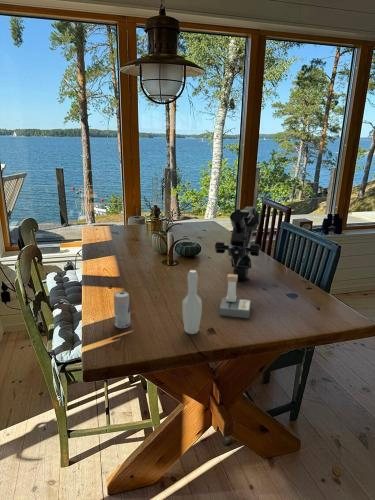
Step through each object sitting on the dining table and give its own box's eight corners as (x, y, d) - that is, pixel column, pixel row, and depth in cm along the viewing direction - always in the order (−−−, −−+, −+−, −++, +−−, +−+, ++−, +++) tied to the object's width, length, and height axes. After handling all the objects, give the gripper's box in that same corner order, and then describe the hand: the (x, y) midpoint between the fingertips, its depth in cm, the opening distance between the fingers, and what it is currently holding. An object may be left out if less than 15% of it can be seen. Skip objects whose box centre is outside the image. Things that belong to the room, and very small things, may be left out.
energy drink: (131, 321, 131) (130, 291, 127) (129, 328, 126) (128, 297, 122) (116, 321, 131) (114, 291, 127) (114, 328, 125) (112, 297, 122)
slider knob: (227, 297, 145) (228, 273, 142) (236, 298, 144) (237, 274, 141) (225, 301, 141) (227, 276, 138) (235, 302, 140) (237, 277, 137)
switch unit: (222, 304, 146) (222, 296, 145) (250, 307, 144) (250, 299, 143) (219, 315, 137) (219, 307, 136) (248, 318, 134) (249, 310, 134)
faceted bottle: (190, 324, 129) (191, 266, 123) (204, 330, 126) (206, 271, 119) (178, 331, 125) (179, 271, 118) (193, 337, 121) (194, 276, 115)
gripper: (216, 223, 152) (211, 255, 145) (261, 226, 148) (258, 259, 141) (218, 236, 162) (213, 267, 155) (260, 239, 158) (257, 271, 151)
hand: (235, 266), depth 150 cm, fingers closed
